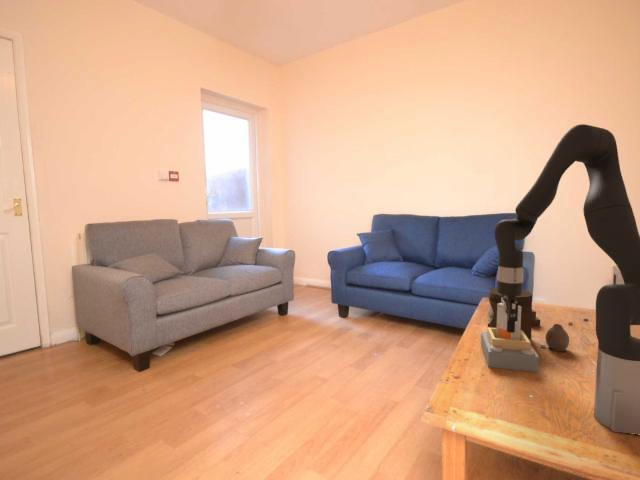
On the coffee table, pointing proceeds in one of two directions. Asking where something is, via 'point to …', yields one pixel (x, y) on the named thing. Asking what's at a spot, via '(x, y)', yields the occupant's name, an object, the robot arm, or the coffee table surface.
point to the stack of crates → (535, 319)
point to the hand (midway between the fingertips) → (508, 328)
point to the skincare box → (502, 324)
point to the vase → (557, 338)
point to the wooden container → (522, 301)
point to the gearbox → (509, 352)
